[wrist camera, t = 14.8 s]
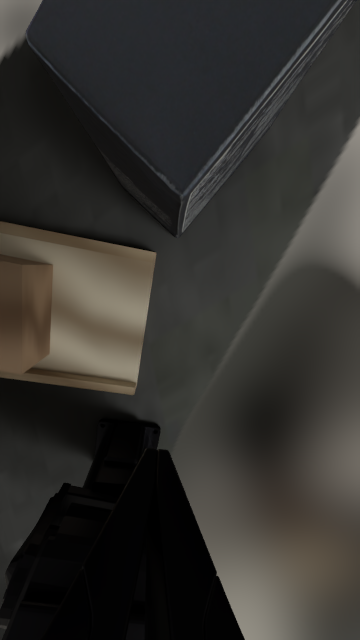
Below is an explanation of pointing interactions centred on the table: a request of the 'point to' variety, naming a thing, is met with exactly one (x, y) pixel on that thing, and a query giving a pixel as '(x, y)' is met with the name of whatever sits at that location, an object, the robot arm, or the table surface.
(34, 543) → the robot arm
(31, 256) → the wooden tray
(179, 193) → the small box
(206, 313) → the table surface
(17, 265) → the slab
